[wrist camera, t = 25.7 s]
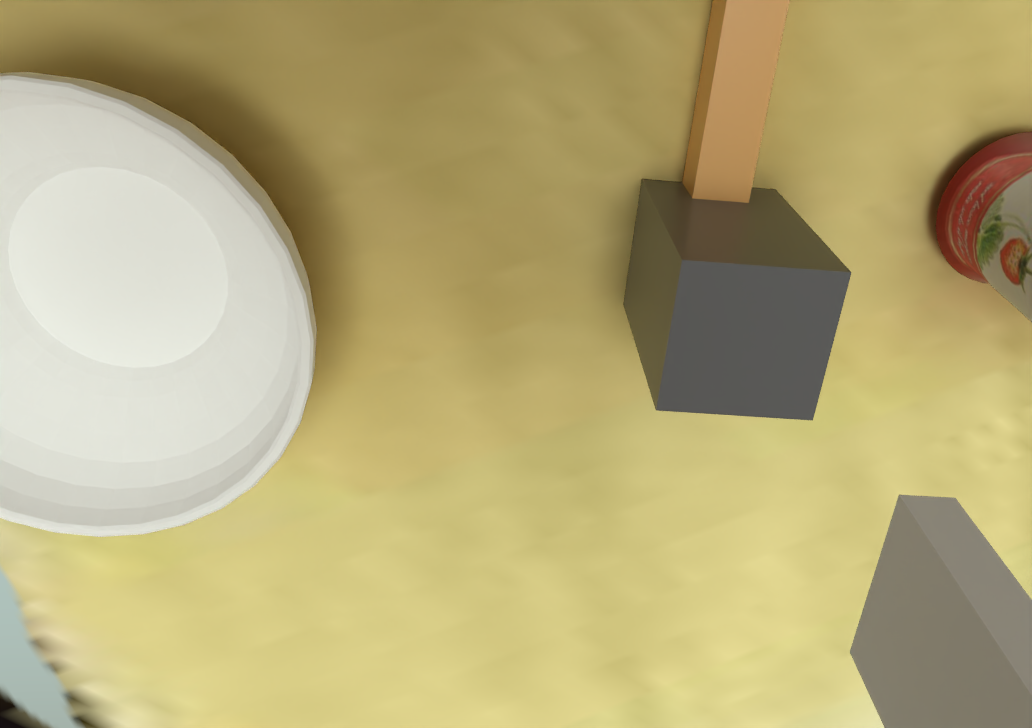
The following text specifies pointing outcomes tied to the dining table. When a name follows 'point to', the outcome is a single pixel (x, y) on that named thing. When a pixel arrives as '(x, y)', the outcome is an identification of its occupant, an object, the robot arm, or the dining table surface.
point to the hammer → (732, 250)
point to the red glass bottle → (992, 219)
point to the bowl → (138, 315)
